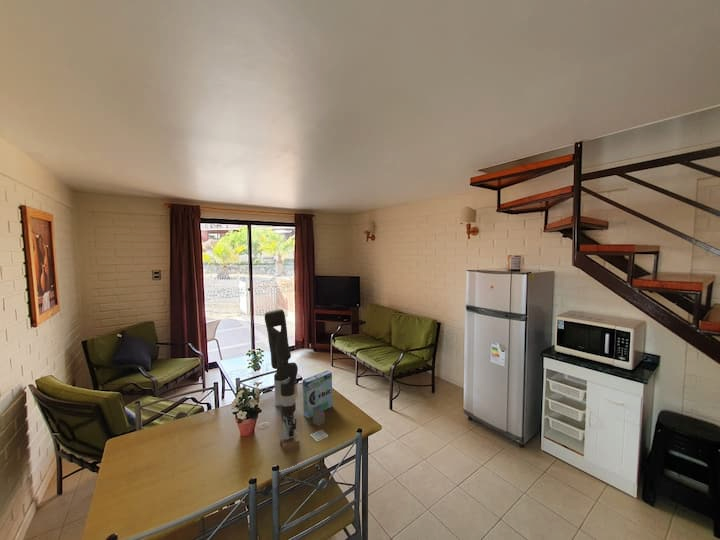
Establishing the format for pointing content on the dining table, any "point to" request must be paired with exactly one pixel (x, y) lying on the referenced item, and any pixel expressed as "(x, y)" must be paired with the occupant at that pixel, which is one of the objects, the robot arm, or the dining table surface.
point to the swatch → (319, 435)
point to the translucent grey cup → (318, 417)
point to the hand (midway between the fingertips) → (289, 433)
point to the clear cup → (287, 431)
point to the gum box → (317, 393)
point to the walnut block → (289, 443)
